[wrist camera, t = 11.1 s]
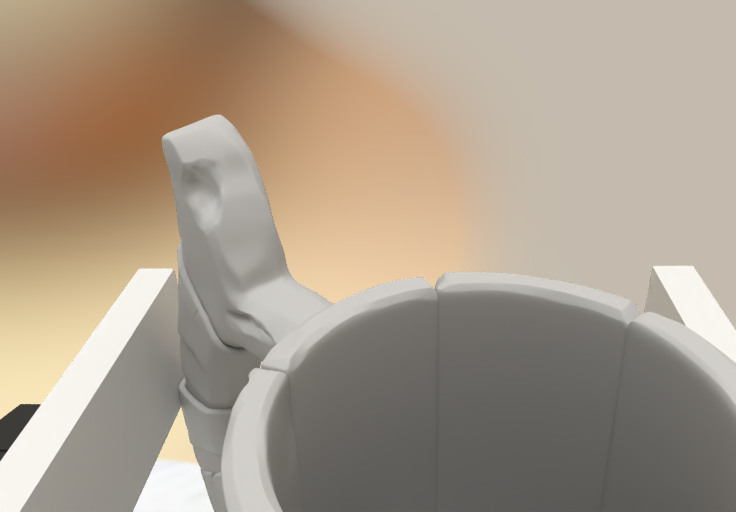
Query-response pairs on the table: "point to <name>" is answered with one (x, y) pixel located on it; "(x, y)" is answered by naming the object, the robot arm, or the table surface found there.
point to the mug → (427, 378)
